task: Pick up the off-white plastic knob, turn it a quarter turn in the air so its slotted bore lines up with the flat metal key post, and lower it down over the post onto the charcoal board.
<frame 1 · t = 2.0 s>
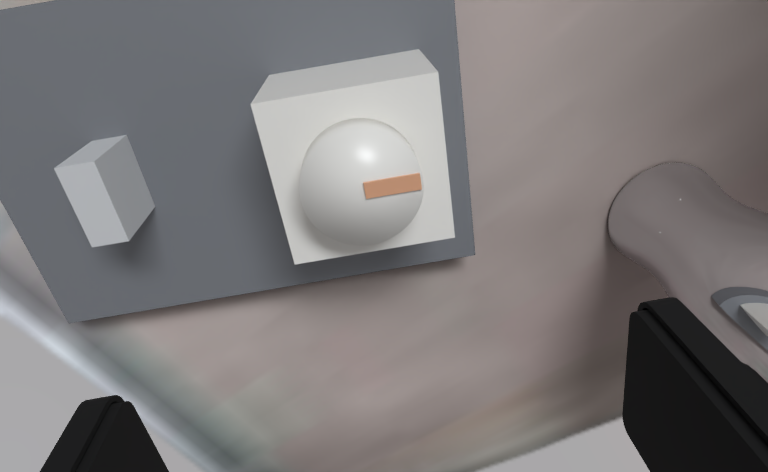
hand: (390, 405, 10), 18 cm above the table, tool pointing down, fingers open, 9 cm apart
key board: (237, 143, 26), on the table
knob: (357, 135, 24), point 2 cm above the table, touching key board
beer glass: (657, 210, 30), on the table
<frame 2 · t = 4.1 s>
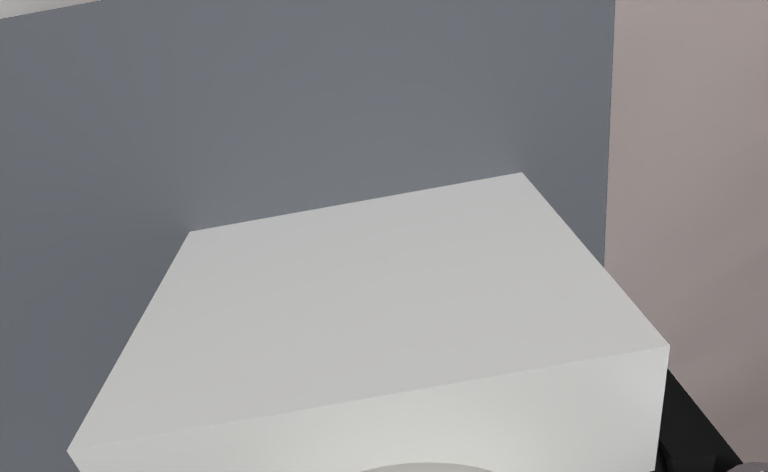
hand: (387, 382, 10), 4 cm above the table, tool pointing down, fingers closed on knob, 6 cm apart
key board: (150, 325, 14), on the table
knob: (382, 333, 12), point 2 cm above the table, touching gripper, key board
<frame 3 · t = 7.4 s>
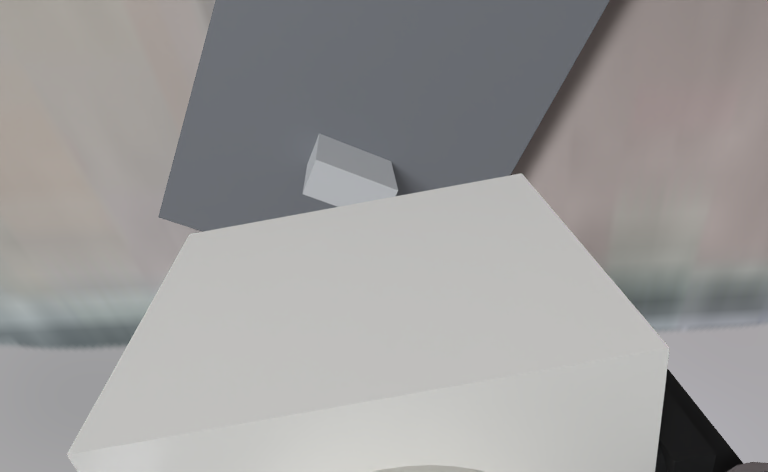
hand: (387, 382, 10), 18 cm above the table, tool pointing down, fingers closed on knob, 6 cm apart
key board: (388, 53, 24), on the table
knob: (382, 335, 12), point 16 cm above the table, touching gripper
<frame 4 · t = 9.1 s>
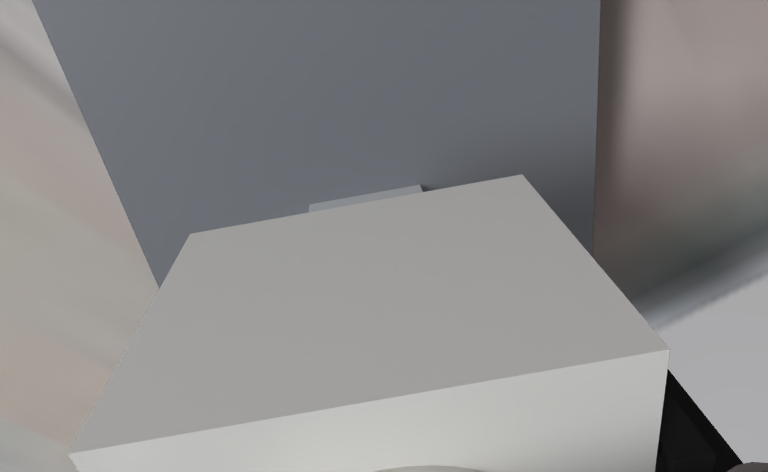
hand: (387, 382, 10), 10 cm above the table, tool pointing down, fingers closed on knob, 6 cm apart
key board: (338, 49, 17), on the table
knob: (382, 335, 12), point 8 cm above the table, touching gripper
when the fingers open (4 cm above the table, at t = 10.7 s): knob stays where it is, resting on key board.
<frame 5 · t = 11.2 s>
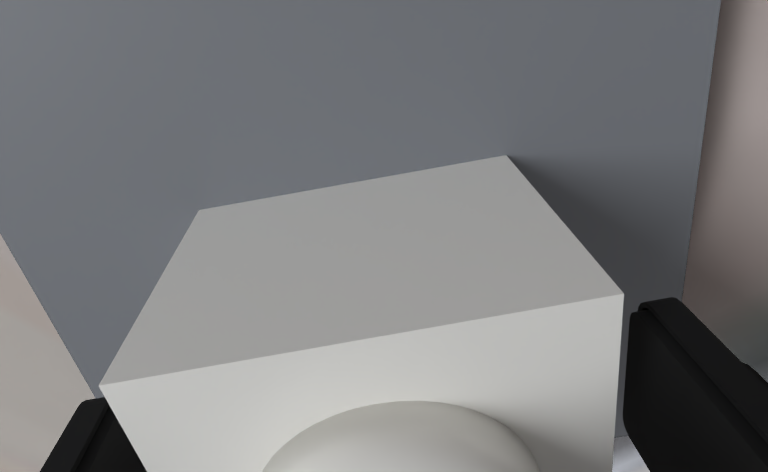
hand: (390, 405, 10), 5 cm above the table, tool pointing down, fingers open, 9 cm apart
key board: (337, 83, 12), on the table
knob: (377, 308, 13), point 2 cm above the table, touching key board
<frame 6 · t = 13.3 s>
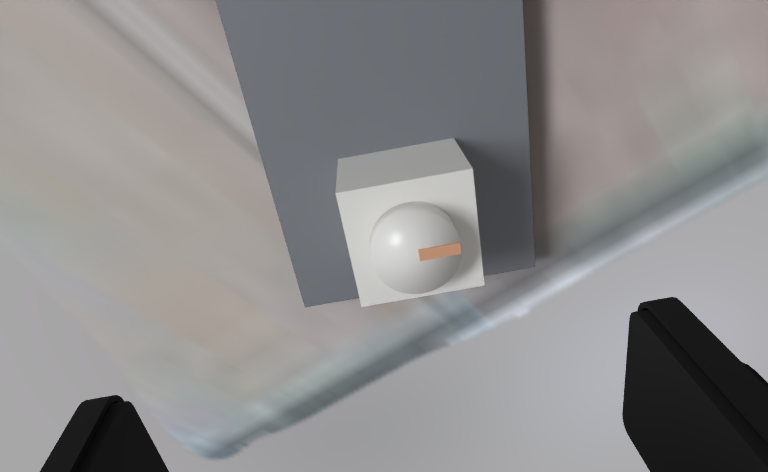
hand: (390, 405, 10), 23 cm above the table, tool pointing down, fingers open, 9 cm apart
key board: (389, 111, 30), on the table
knob: (404, 201, 31), point 2 cm above the table, touching key board
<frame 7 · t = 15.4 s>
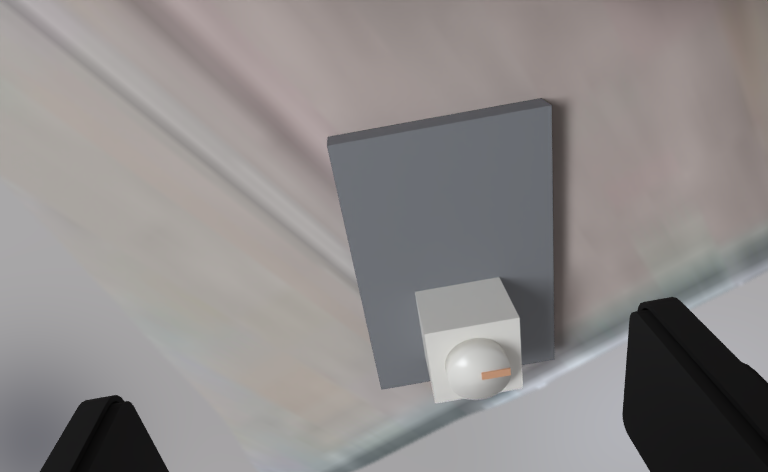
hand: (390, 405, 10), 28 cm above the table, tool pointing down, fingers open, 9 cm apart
key board: (450, 253, 41), on the table
knob: (460, 318, 42), point 2 cm above the table, touching key board
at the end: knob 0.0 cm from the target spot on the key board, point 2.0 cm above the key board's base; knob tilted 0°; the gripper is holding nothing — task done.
